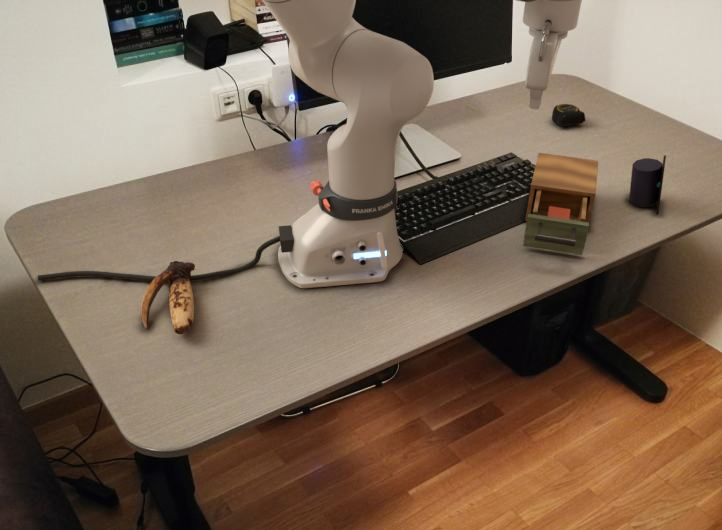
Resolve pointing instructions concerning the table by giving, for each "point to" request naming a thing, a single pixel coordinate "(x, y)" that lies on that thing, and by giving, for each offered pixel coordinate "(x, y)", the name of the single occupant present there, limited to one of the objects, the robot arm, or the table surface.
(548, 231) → the drawer
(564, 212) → the block
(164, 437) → the table surface
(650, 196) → the speaker
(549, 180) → the cabinet
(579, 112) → the tape measure
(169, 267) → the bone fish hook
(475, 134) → the table surface
